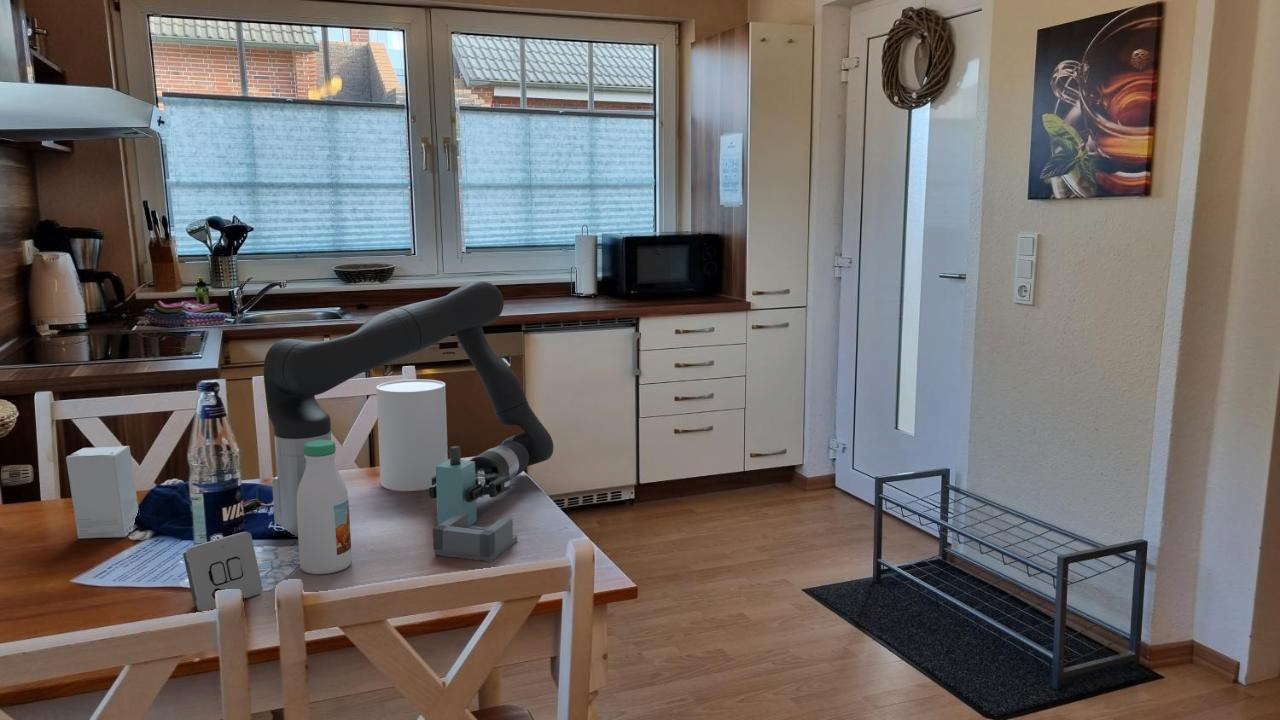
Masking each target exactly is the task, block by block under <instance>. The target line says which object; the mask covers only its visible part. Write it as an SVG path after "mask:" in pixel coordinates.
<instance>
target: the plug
mask: <svg viewBox="0 0 1280 720" xmlns="http://www.w3.org/2000/svg"><path fill="white" fill-rule="evenodd" d="M461 459H462V458H461V446H459V445H455V446H454V445H451V446H450V447H449V458H448V460H447V461H445V462H443V463H441V464H439V465H438V466H436V490H437V498H436V516H437V526H438V525H440V524H441V523H443V522H444V521H446V520H448V519H449V518H451V517H452V516H454V515H455V514H457V513H458V512H460V513H468V527H470V526H472V525H473V524H474V523H475V522H477V521H476V520H477V499H476V500H474V501H472V502H466V490H467V489H469V488H471V487H472V486H474V485H475V461H470V460H464V459H463V460H461Z"/></svg>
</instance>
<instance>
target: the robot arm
mask: <svg viewBox="0 0 1280 720" xmlns="http://www.w3.org/2000/svg"><path fill="white" fill-rule="evenodd" d="M504 302H505V301H504V296H503V294H502V292H501V290H500V289H499V288H498V287H497V286H496V285H494V284H492V283H491V282H488V281H483V280H476V281H471V282H470V283H468V284H465V285H462V286H461V287H458V288H456V289H454V290H452V291H451V292H449V293H448V294H447V295H444V296H441V297H437V298H432V299H427V300H423V301H418V302H414V303H413V302H412V303H410V304H406V305H402V306H399V307H395V308H392V309H388V310H386V311H383V312H380V313H378V314H376V315H373V316H371V317H370V318H369V319H367V320H366V321H365V322H363V324H362V325H361V326H360V327H359V328H358V329H357V330H356V331H354V332H352V333H351V334H347V335H344V336H340V337H337V338H333V339H329V340H324V341H310V340H302V339H295V338H294V339H293V338H285V339H281V340H278V341H276V342H275V343H274V344H273V345H271V346H270V348H269V349H268V350H267V352H266V354H265V358H264V362H263V383H264V392H265V399H266V401H265V402H266V409H267V411H266V412H267V414H268V419H269V420H270V422H271V424H272V425H273V426H272V427H273V434H274V452H275V464H276V465H275V467H276V476H275V477H273V478H272V481H271V483H272V484H271V487H272V488H271V489H272V498H273V499H272V501H273V516H274V518H273V519H274V525H275V524H278V525H281V526H282V527H283V528H284V529H285V530H287V531H288V532H290V533H291V534H293V535H295V536H294V537H298V522H297V492H298V487H299V484H300V482H301V479H302V477H303V474H304V471H305V467H306V458H305V457H304V456H305V454H304V444H305V443H307V442H310V441H314V440H331V441H332V428H331V427H332V425H331V423H332V422H331V416H330V415H329V413H327V412H326V410H324V409H323V407H321V406H320V405H319V404H320V403H318V401H317V399H316V396H318V395H321V394H323V393H326V392H328V391H330V390H332V389H334V388H335V387H337V386H339V385H341V384H343V383H345V382H347V381H349V380H351V379H352V378H354V377H356V376H358V375H360V374H362V373H366V372H367V371H370V370H373V369H377V368H380V367H382V366H385V365H387V364H391V363H394V362H396V361H399V360H402V359H405V358H407V357H410V356H411V355H412V356H413V355H415V354H417V353H419V352H421V351H423V350H426V349H428V348H429V347H431V346H433V345H436V344H437V343H439V342H441V341H442V340H445V339H447V338H448V337H450V336H452V335H453V334H454V335H455V337H456V339H457V340H458V342H459V343H460V346H462V349H463V351H464V352H465V354H466V356H467V357H468V359H469V361H470V363H471V364H472V366H473V367H474V369H475V371H476V373H477V375H478V376H479V378H480V380H481V383H482V384H483V386H484V389H485V390H486V393H487V396H488V398H489V400H490V403H491V406H492V408H493V410H494V413H495V417H496V418H497V420H498V422H499V424H500V425H502V426H518V427H519V428H520V429H521V430H522V431H523V432H520V433H518V434H515V435H512V436H510V437H507V438H505V439H504V440H502V442H501V443H500V444H499V445H497V446H495V447H492V448H489V449H487V450H484V451H483V452H481V453H480V454H477V455H476V456H474V457H472V458H470V459H469V461H475V485H474V486H472V487H471V488H469V489H467V490H466V502H472V501H474V500H476V501H477V500H478V499H479V498H485V497H486V496H487V495H488V496H489V498H496V497H497V496H500V495H501V494H503V493H505V492H507V491H509V490H510V489H511V486H510V485H511V481H512V480H513V479H514V478H516V477H517V476H518V475H521V473H523V472H524V471H525V470H526V468H527V467H530V466H533V465H536V464H540V463H542V462H546V461H548V460H549V459H550V458H551V457H552V456H553V454H554V448H555V447H554V446H555V445H554V442H553V438H552V436H551V433H549V431H548V430H547V428H546V427H545V426H544V425H543V424H542V422H541V421H540V419H539V418H538V417H537V415H536V414H535V412H534V411H533V410H532V408H531V406H530V404H529V402H528V400H527V397H526V394H525V392H524V388H523V386H522V384H521V383H520V380H519V378H518V376H517V375H516V374H515V373H514V371H513V370H512V369H511V367H510V366H508V364H507V363H506V362H504V360H502V359H501V357H500V356H499V355H498V354H497V353H496V352H495V350H494V349H493V348H492V347H491V345H490V342H488V340H487V338H486V335H485V332H484V330H483V327H485V326H489V325H491V324H493V323H494V322H495V321H496V320H497V319H498V318H500V317H501V314H502V312H503V310H504V304H505V303H504ZM428 491H429V493H428V494H429V496H430V499H437V490H436V475H434V476H433V477H432V486H430V487H429V489H428Z"/></svg>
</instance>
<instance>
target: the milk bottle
mask: <svg viewBox="0 0 1280 720" xmlns="http://www.w3.org/2000/svg"><path fill="white" fill-rule="evenodd" d="M336 447H337V446H336V442H335V441H334V440H332V439H331V440H314V441H310V442H307V443H305V444H304V454H305V456H304V457H305V458H306V467H305V471H304V474H303V477H302V479H301V482H300V484H299V487H298V492H297V522H298V536H297V538H298V550H299V551H298V554H299V555H298V556H299V567H300V569H301V570H302V571H303V572H304V573H306V574H311V575H327V574H333V573H337V572H338V573H339V572H340V571H343V570H345V569H347V568H348V567H350V565H351V563H352V562H353V561H352V559H353V558H352V539H351V537H352V536H351V535H352V534H351V520H350V505H349V504H350V503H349V493H348V489H347V486H346V482H345V480H344V479H343V477H342V474H341V473H340V471H339V469H338V467H337V464H336V461H335V456H336V455H337V453H336V451H337V450H336Z"/></svg>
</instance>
